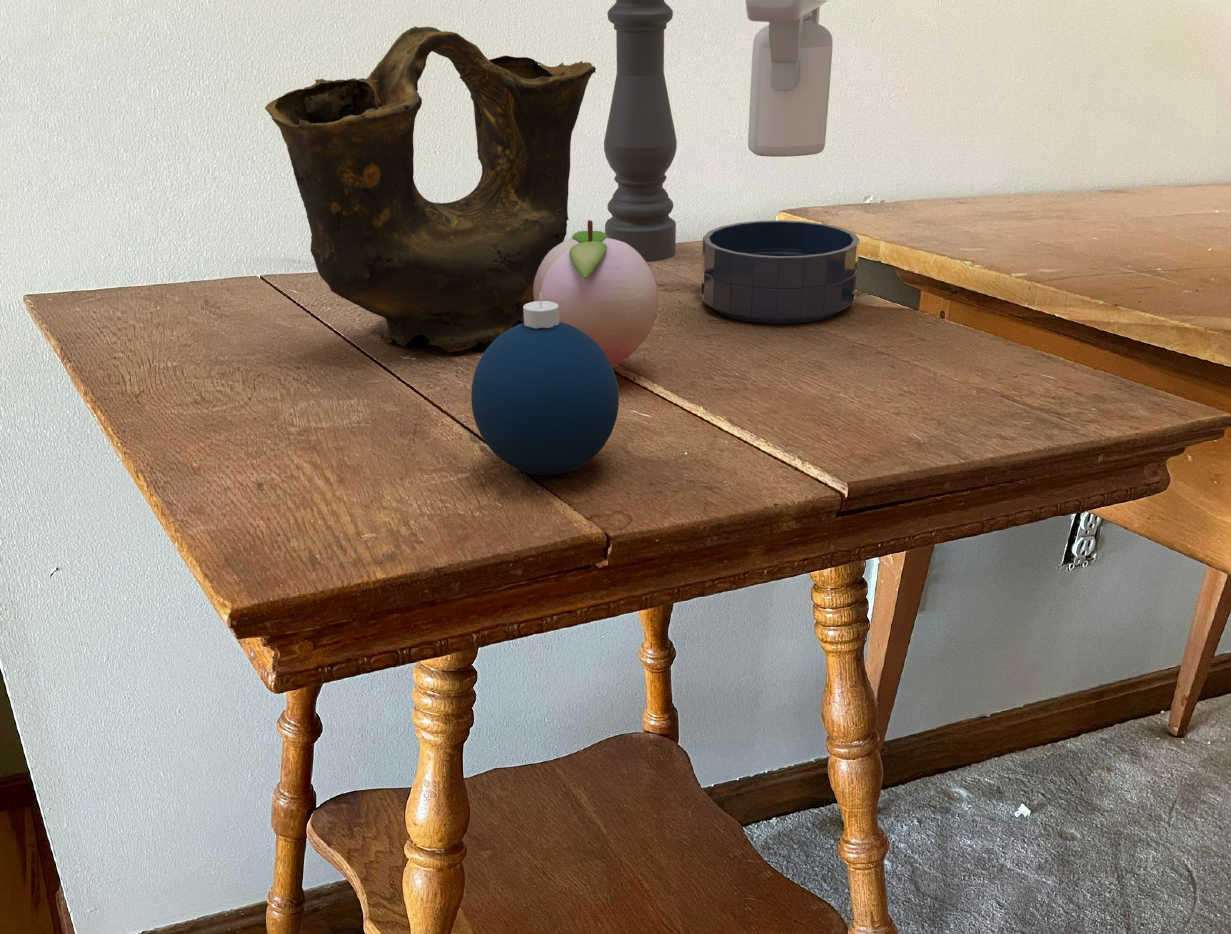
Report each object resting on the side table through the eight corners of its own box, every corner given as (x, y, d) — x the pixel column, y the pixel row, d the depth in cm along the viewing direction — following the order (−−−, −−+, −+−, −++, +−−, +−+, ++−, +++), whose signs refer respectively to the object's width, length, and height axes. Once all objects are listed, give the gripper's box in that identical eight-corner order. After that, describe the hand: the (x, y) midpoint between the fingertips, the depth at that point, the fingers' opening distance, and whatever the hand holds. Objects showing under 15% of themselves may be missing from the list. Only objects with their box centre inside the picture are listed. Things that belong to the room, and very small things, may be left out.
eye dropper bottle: (816, 160, 92) (831, -39, 85) (741, 156, 94) (750, -40, 86) (829, 149, 95) (845, -43, 88) (757, 145, 97) (766, -44, 90)
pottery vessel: (545, 287, 106) (532, 7, 94) (630, 315, 99) (629, 17, 87) (279, 352, 93) (225, 37, 81) (357, 388, 86) (311, 51, 74)
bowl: (861, 289, 104) (868, 224, 101) (841, 332, 95) (847, 261, 92) (719, 281, 107) (721, 217, 104) (686, 321, 98) (687, 252, 95)
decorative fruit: (669, 394, 85) (671, 233, 79) (547, 402, 84) (540, 240, 78) (643, 351, 92) (643, 202, 86) (532, 358, 91) (524, 207, 85)
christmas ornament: (625, 495, 71) (623, 311, 65) (476, 501, 71) (461, 317, 65) (613, 441, 78) (611, 269, 72) (477, 446, 78) (464, 274, 71)
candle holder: (595, 269, 110) (587, -81, 95) (619, 252, 115) (616, -85, 100) (662, 275, 109) (665, -82, 93) (684, 257, 113) (690, -85, 98)
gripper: (831, -159, 75) (812, 107, 83) (872, -157, 90) (852, 66, 99) (726, -157, 76) (718, 104, 84) (785, -156, 92) (773, 64, 100)
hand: (791, 83), depth 92 cm, fingers closed on eye dropper bottle, 4 cm apart
